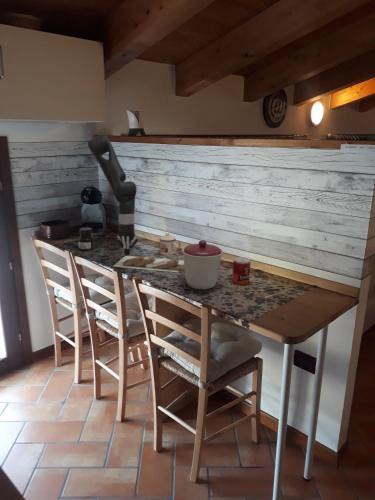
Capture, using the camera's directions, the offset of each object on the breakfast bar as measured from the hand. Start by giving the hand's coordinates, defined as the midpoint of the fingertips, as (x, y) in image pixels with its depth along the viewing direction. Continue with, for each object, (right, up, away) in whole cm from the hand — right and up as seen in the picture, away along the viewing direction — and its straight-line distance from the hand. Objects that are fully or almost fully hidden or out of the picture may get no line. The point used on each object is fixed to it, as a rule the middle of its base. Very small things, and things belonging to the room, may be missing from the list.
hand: (127, 255), depth 198 cm
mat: (+11, -5, +4) cm, 13 cm away
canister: (+37, -14, -23) cm, 45 cm away
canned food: (+55, -12, -18) cm, 59 cm away
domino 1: (-2, -4, +1) cm, 4 cm away
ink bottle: (-28, +3, +29) cm, 41 cm away
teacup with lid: (+20, 0, +23) cm, 30 cm away
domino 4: (+16, -5, -2) cm, 17 cm away
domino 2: (+4, -4, 0) cm, 6 cm away
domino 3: (+11, -5, -1) cm, 12 cm away
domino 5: (+22, -6, -3) cm, 23 cm away
